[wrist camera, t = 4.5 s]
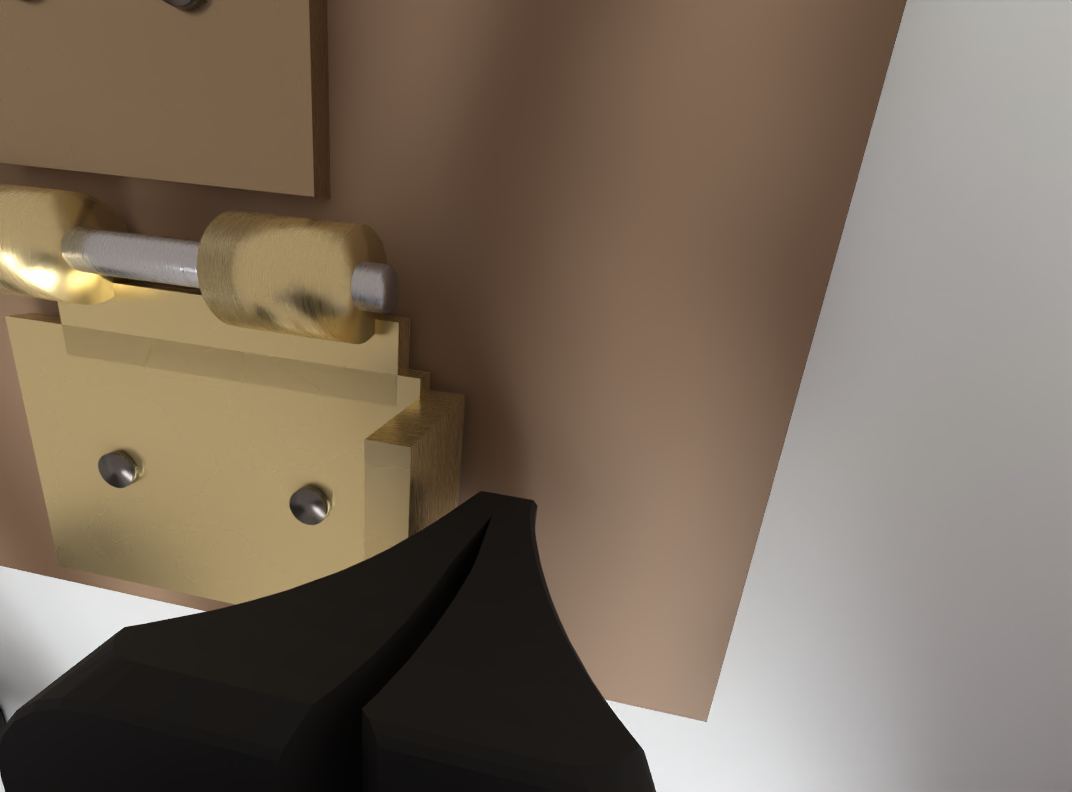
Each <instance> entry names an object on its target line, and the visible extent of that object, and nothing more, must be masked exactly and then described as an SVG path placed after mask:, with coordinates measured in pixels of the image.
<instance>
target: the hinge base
mask: <svg viewBox="0 0 1072 792" xmlns="http://www.w3.org/2000/svg"><path fill="white" fill-rule="evenodd" d="M0 163H1V164H10V165H19V166H29V167H38V168H47V169H56V170H65V171H75V172H84V173H93V174H102V175H112V176H121V177H130V178H139V179H148V180H158V181H167V182H176V183H185V184H195V185H204V186H213V187H222V188H231V189H241V190H250V191H259V192H268V193H278V194H287V195H296V196H305V197H314V198H324V199H331V189H330V131H329V74H328V16H327V0H0Z"/></svg>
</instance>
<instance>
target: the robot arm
mask: <svg viewBox="0 0 1072 792" xmlns="http://www.w3.org/2000/svg"><path fill="white" fill-rule="evenodd" d="M537 507H538V506H537V504H536V503H535V502H534V500H531V499H525V498H519V497H514V496H508V495H502V494H497V493H491V492H485V491H480V492H479V493H477V494H475V495H474V496H472V497H471V498H469V499H468V500H467V501H465V502H464V503H462V504H461V505H459V506H458V507H456V508H455V509H453V510H452V511H450V512H449V513H447V514H446V515H444V516H443V517H441V518H440V519H438V520H437V521H435V522H434V523H432V524H430V525H429V526H427V527H426V528H424V529H422V530H421V531H419V532H417V533H415V534H414V535H412V536H410V537H408V538H407V539H405V540H403V541H401V542H400V543H398V544H396V545H394V546H393V547H391V548H389V549H387V550H385V551H383V552H381V553H379V554H377V555H375V556H373V557H371V558H369V559H366V560H364V561H362V562H360V563H357V564H355V565H353V566H351V567H348V568H346V569H344V570H341V571H339V572H336V573H334V574H331V575H328V576H325V577H322V578H320V579H317V580H314V581H311V582H308V583H306V584H303V585H300V586H297V587H294V588H292V589H289V590H286V591H282V592H279V593H276V594H272V595H269V596H266V597H262V598H259V599H255V600H251V601H248V602H244V603H240V604H236V605H232V606H228V607H224V608H220V609H216V610H211V611H207V612H202V613H197V614H192V615H187V616H182V617H177V618H172V619H167V620H162V621H156V622H151V623H146V624H141V625H135V626H129V627H124V628H123V629H121V630H120V631H119V632H117V633H116V634H115V635H113V636H112V637H111V638H110V639H108V640H107V641H106V642H104V643H103V644H102V645H101V646H99V647H98V648H97V649H95V650H94V651H93V652H92V653H90V654H89V655H88V656H86V657H85V658H84V659H82V660H81V661H80V662H79V663H77V664H76V665H75V666H73V667H72V668H71V669H70V670H68V671H67V672H66V673H64V674H63V675H62V676H61V677H59V678H58V679H57V680H55V681H54V682H53V683H52V684H50V685H49V686H48V687H46V688H45V689H44V690H42V691H41V692H40V693H39V694H37V695H36V696H35V697H33V698H32V699H31V700H30V701H28V702H27V703H26V704H24V705H23V706H22V707H21V708H19V709H18V710H17V711H16V712H15V713H14V714H13V716H12V717H11V718H10V720H9V721H8V722H7V724H6V725H5V726H4V729H3V734H2V739H1V743H0V773H1V779H2V782H3V785H4V789H5V792H656V790H655V786H654V783H653V779H652V776H651V773H650V769H649V766H648V762H647V759H646V756H645V753H644V750H643V749H642V748H641V746H640V745H639V744H638V743H637V741H636V740H635V739H634V738H633V736H632V735H631V734H630V732H629V731H628V730H627V729H626V727H625V726H624V725H623V724H622V722H621V721H620V720H619V719H618V717H617V716H616V714H615V713H614V712H613V710H612V709H611V708H610V706H609V705H608V703H607V702H606V700H605V699H604V697H603V696H602V694H601V693H600V691H599V690H598V688H597V687H596V685H595V684H594V682H593V681H592V679H591V677H590V676H589V674H588V672H587V670H586V669H585V667H584V665H583V663H582V661H581V660H580V658H579V656H578V654H577V653H576V651H575V649H574V647H573V646H572V644H571V642H570V640H569V638H568V636H567V634H566V632H565V629H564V627H563V625H562V623H561V621H560V619H559V616H558V614H557V611H556V609H555V606H554V604H553V601H552V598H551V596H550V593H549V590H548V587H547V584H546V580H545V577H544V573H543V570H542V566H541V562H540V557H539V552H538V547H537V541H536V534H535V524H536V515H537Z"/></svg>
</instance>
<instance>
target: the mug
mask: <svg viewBox="0 0 1072 792" xmlns="http://www.w3.org/2000/svg"><path fill="white" fill-rule="evenodd" d="M4 726H5V721H4V718H3V715H2V713H1V710H0V743H1V739H2V734H3V729H4Z"/></svg>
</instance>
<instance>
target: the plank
mask: <svg viewBox="0 0 1072 792" xmlns="http://www.w3.org/2000/svg"><path fill="white" fill-rule="evenodd" d="M906 1H907V0H327V16H328V74H329V131H330V189H331V199H324V198H314V197H305V196H296V195H287V194H278V193H268V192H259V191H250V190H241V189H231V188H222V187H213V186H204V185H195V184H185V183H176V182H167V181H158V180H148V179H139V178H130V177H121V176H112V175H102V174H93V173H84V172H75V171H65V170H56V169H47V168H38V167H29V166H19V165H10V164H1V163H0V183H3V184H11V185H20V186H29V187H38V188H46V189H55V190H64V191H73V192H80V193H84V194H88V195H91V196H93V197H95V198H97V199H99V200H101V201H103V202H104V203H105V204H107V205H108V206H109V207H111V208H112V209H113V210H114V211H115V212H116V213H117V214H118V216H119V217H120V218H121V219H122V221H123V222H124V224H125V226H126V227H127V229H128V231H129V233H137V234H145V235H153V236H161V237H170V238H178V239H186V240H194V241H201V238H202V236H203V234H204V232H205V230H206V228H207V227H208V225H209V224H210V223H211V222H212V221H213V220H214V219H215V218H216V217H217V216H219V215H220V214H222V213H224V212H227V211H232V210H239V211H248V212H257V213H266V214H275V215H283V216H292V217H301V218H310V219H318V220H327V221H336V222H345V223H353V224H362V225H367V226H369V227H371V228H372V229H373V230H374V231H375V232H376V233H377V234H378V236H379V238H380V239H381V242H382V244H383V247H384V250H385V253H386V258H387V263H388V265H392V266H393V267H394V268H395V270H396V273H397V276H398V296H397V301H396V304H395V306H394V308H393V310H392V311H391V312H390V313H387V314H386V313H384V315H390V316H398V317H405V318H410V351H409V368H410V369H416V370H423V371H430V372H431V382H430V389H432V390H439V391H445V392H452V393H458V394H465V408H464V423H463V438H462V453H461V468H460V483H459V498H458V506H459V505H461V504H462V503H464V502H465V501H467V500H468V499H469V498H471V497H472V496H474V495H475V494H477V493H479V492H480V491H485V492H491V493H497V494H502V495H508V496H514V497H519V498H525V499H531V500H534V502H535V503H536V504H537V506H538V507H537V515H536V524H535V534H536V541H537V547H538V552H539V557H540V562H541V566H542V570H543V573H544V577H545V580H546V584H547V587H548V590H549V593H550V596H551V598H552V601H553V604H554V606H555V609H556V611H557V614H558V616H559V619H560V621H561V623H562V625H563V627H564V629H565V632H566V634H567V636H568V638H569V640H570V642H571V644H572V646H573V647H574V649H575V651H576V653H577V654H578V656H579V658H580V660H581V661H582V663H583V665H584V667H585V669H586V670H587V672H588V674H589V676H590V677H591V679H592V681H593V682H594V684H595V685H596V687H597V688H598V690H599V691H600V693H601V694H602V696H603V697H604V699H605V700H610V701H615V702H619V703H624V704H628V705H633V706H637V707H642V708H646V709H651V710H655V711H660V712H664V713H669V714H673V715H678V716H682V717H687V718H691V719H696V720H700V721H705V722H707V718H708V715H709V711H710V708H711V704H712V700H713V697H714V693H715V690H716V686H717V682H718V679H719V675H720V672H721V668H722V664H723V661H724V657H725V654H726V650H727V646H728V643H729V639H730V636H731V632H732V628H733V625H734V621H735V617H736V614H737V610H738V607H739V603H740V599H741V596H742V592H743V589H744V585H745V581H746V578H747V574H748V571H749V567H750V563H751V560H752V556H753V553H754V549H755V545H756V542H757V538H758V535H759V531H760V527H761V524H762V520H763V517H764V513H765V509H766V506H767V502H768V499H769V495H770V491H771V488H772V484H773V480H774V477H775V473H776V470H777V466H778V462H779V459H780V455H781V452H782V448H783V444H784V441H785V437H786V434H787V430H788V426H789V423H790V419H791V416H792V412H793V408H794V405H795V401H796V398H797V394H798V390H799V387H800V383H801V380H802V376H803V372H804V369H805V365H806V361H807V358H808V354H809V351H810V347H811V343H812V340H813V336H814V333H815V329H816V325H817V322H818V318H819V315H820V311H821V307H822V304H823V300H824V297H825V293H826V289H827V286H828V282H829V279H830V275H831V271H832V268H833V264H834V261H835V257H836V253H837V250H838V246H839V242H840V239H841V235H842V232H843V228H844V224H845V221H846V217H847V214H848V210H849V206H850V203H851V199H852V196H853V192H854V188H855V185H856V181H857V178H858V174H859V170H860V167H861V163H862V160H863V156H864V152H865V149H866V145H867V142H868V138H869V134H870V131H871V127H872V123H873V120H874V116H875V113H876V109H877V105H878V102H879V98H880V95H881V91H882V87H883V84H884V80H885V77H886V73H887V69H888V66H889V62H890V59H891V55H892V51H893V48H894V44H895V41H896V37H897V33H898V30H899V26H900V23H901V19H902V15H903V12H904V8H905V4H906ZM129 280H133V281H141V282H148V283H155V284H163V285H170V286H177V287H185V288H192V289H199V290H200V288H195V287H187V286H180V285H172V284H165V283H158V282H150V281H143V280H136V279H129ZM25 313H40V314H47V315H54V316H60V313H59V307H58V302H57V301H53V300H46V299H40V298H33V297H26V296H19V295H12V294H5V293H0V566H4V567H9V568H13V569H18V570H22V571H27V572H31V573H36V574H40V575H45V576H49V577H54V578H59V579H63V580H68V581H72V582H77V583H81V584H86V585H90V586H95V587H99V588H104V589H108V590H113V591H117V592H122V593H126V594H131V595H135V596H140V597H144V598H149V599H153V600H158V601H163V602H167V603H172V604H176V605H181V606H185V607H190V608H194V609H199V610H203V611H211V610H216V609H220V608H224V607H228V606H232V605H236V604H231V603H227V602H222V601H217V600H213V599H208V598H204V597H199V596H194V595H190V594H185V593H181V592H176V591H172V590H167V589H162V588H158V587H153V586H149V585H144V584H139V583H135V582H130V581H126V580H121V579H116V578H112V577H107V576H103V575H98V574H93V573H89V572H84V571H80V570H75V569H70V568H66V567H61V566H59V564H58V559H57V555H56V550H55V545H54V541H53V536H52V531H51V527H50V522H49V518H48V513H47V508H46V504H45V499H44V494H43V490H42V485H41V481H40V476H39V471H38V467H37V462H36V457H35V453H34V448H33V443H32V439H31V434H30V430H29V425H28V420H27V416H26V411H25V406H24V402H23V397H22V393H21V388H20V383H19V379H18V374H17V369H16V365H15V360H14V355H13V351H12V346H11V342H10V337H9V332H8V328H7V323H6V318H5V316H9V315H17V314H25Z"/></svg>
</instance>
